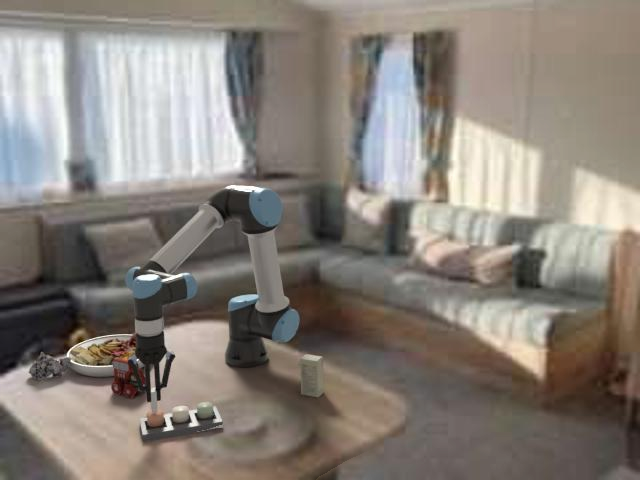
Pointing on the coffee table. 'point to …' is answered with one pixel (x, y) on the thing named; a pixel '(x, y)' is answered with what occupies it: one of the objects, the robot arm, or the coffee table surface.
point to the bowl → (102, 354)
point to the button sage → (205, 410)
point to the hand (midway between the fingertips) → (154, 411)
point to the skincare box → (311, 375)
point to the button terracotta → (155, 418)
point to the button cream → (180, 414)
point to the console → (179, 426)
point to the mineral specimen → (48, 367)
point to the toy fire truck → (125, 378)
